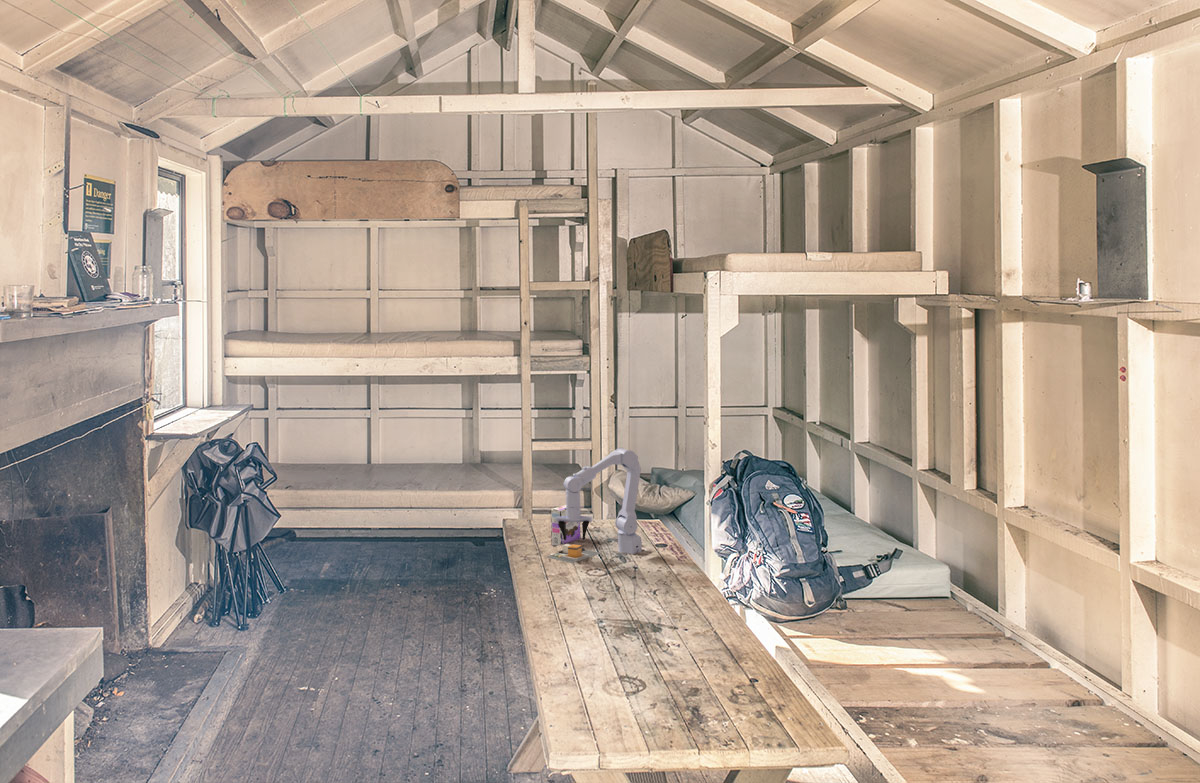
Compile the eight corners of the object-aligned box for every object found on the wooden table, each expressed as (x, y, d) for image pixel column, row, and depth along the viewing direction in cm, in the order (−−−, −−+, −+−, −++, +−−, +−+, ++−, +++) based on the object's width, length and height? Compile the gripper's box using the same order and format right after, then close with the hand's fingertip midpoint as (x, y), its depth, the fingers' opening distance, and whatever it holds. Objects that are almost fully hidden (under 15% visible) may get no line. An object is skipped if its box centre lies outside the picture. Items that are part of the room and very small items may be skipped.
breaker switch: (572, 552, 388) (572, 545, 387) (568, 553, 386) (568, 546, 386) (566, 550, 390) (566, 543, 390) (562, 552, 388) (562, 545, 388)
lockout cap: (581, 557, 380) (581, 545, 380) (577, 559, 377) (576, 547, 376) (573, 556, 382) (572, 544, 382) (568, 558, 379) (567, 546, 378)
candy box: (561, 547, 402) (560, 510, 400) (551, 546, 405) (549, 508, 404) (581, 540, 413) (580, 504, 411) (570, 538, 416) (569, 502, 415)
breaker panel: (602, 556, 386) (602, 550, 386) (572, 566, 372) (572, 560, 372) (575, 550, 396) (574, 544, 396) (545, 560, 383) (544, 554, 382)
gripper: (592, 504, 381) (593, 536, 382) (557, 504, 382) (558, 536, 384) (590, 507, 374) (591, 541, 375) (554, 508, 375) (555, 541, 377)
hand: (574, 539), depth 379 cm, fingers open, 7 cm apart
